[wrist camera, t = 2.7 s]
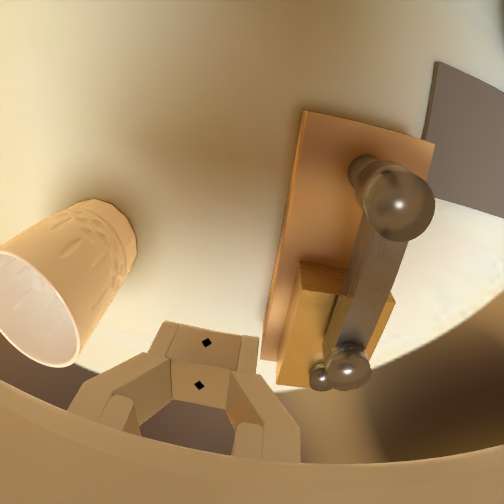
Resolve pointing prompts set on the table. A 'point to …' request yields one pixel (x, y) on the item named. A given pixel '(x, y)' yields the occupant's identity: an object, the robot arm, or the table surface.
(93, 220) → the white cup
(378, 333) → the gold block with knob
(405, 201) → the lever
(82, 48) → the table surface
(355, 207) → the plane body
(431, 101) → the rubber mat
